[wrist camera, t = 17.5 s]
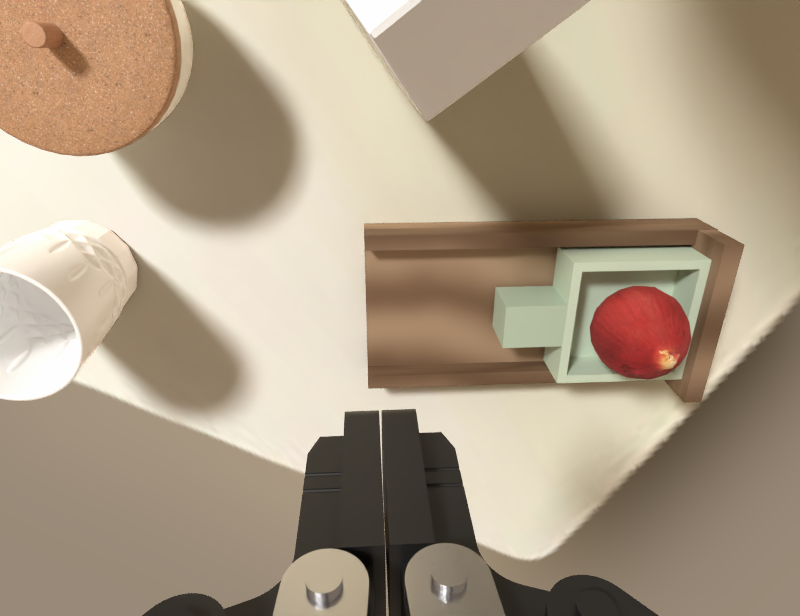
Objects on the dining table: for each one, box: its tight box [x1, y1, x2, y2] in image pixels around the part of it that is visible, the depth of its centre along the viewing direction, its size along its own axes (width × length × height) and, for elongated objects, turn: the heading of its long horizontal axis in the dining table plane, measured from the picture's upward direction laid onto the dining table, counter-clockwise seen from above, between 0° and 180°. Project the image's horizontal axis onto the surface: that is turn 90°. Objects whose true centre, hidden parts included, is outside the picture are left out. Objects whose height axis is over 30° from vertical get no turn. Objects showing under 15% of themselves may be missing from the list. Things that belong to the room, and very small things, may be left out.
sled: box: [492, 245, 712, 383], centre depth 38 cm, size 9×13×3 cm
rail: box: [364, 218, 744, 402], centre depth 38 cm, size 11×23×6 cm, turn 90°
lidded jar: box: [0, 0, 193, 156], centre depth 28 cm, size 11×11×9 cm
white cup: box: [0, 220, 138, 401], centre depth 33 cm, size 8×8×10 cm
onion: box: [590, 286, 691, 380], centre depth 36 cm, size 6×6×8 cm
